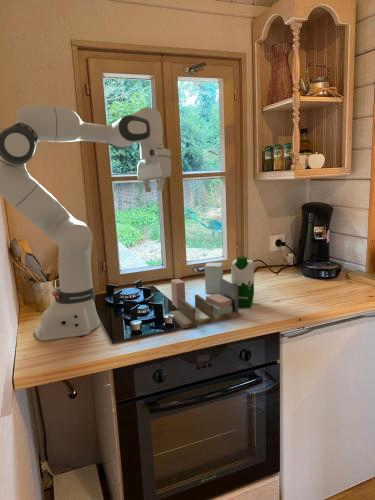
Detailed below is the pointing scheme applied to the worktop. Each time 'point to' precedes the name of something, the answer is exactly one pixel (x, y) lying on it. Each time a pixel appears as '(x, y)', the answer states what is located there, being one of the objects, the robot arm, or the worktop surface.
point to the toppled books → (220, 304)
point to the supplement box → (213, 277)
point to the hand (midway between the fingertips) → (154, 191)
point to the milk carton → (243, 280)
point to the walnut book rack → (198, 313)
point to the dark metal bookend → (230, 293)
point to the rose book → (177, 291)
